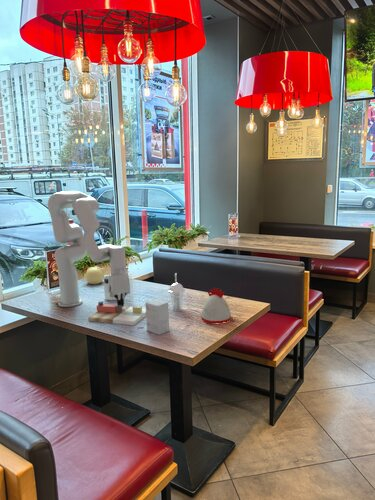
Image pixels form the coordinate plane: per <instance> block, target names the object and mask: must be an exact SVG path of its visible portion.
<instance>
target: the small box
mask: <svg viewBox="0 0 375 500" xmlns="http://www.w3.org/2000/svg"><path fill="white" fill-rule="evenodd" d="M145 308H146V316H145V317H146V320H145V321H146V331H147V332H151V333H153V334H155V335H159V336H160V335H162V334H165V333H166V332H167V333H168V332H169V331H170V317H169V316H170V315H169V302H168V301H164V300H160V299H157V298H155V299H151V300H149V301H146V302H145Z"/></svg>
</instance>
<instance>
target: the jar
mask: <svg viewBox="0 0 375 500" xmlns="http://www.w3.org/2000/svg"><path fill="white" fill-rule="evenodd" d="M108 281H109V275H107V276H104V279H103V287H104V288H103V289H104V300H105V301H106V300H107V301H115V300H116V301H117V299H116V298H115V297H110V293H109V291H108Z"/></svg>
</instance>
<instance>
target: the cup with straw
mask: <svg viewBox="0 0 375 500" xmlns="http://www.w3.org/2000/svg"><path fill="white" fill-rule="evenodd" d="M178 275H179V274H178V273H177V272H175V273H174V281H175V282H174V283H171V285H169V288H168V290H167V292H168V293H169V297H170V302H171V307H172V311H174V312H181V311H182V310H183V298H184V297H183V296H184V293H185V292H186V290H185V288H184V287H183V285H182V284H181V283H180V282H179V283H178V282H177V276H178Z"/></svg>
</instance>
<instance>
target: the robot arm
mask: <svg viewBox="0 0 375 500" xmlns="http://www.w3.org/2000/svg"><path fill="white" fill-rule="evenodd" d="M47 208H48V212H49V215H50V219H51V224H52V225H51V226H52V231H53V237H54V240H55V242H56V243H57V244H60V245H61V244H63V246H60V247H58V248H57V249H56V250H55V252H54V260H55V263H56V267H57V274H58V275H57V276H58V283H59V294H56V296H55V297H54V299H55V300H58V302H57V305H58V306H59V307H61V308H62V307H63V308H70V307H77V306H80V305H81V304H82V303H83V299H82V298H80V291H79V281H78V271H77V268H76V265H74V263H75V262H78V261H82V260H83V259H84V258H85V257H86V253H87V255H88V256H89V258H90V259H91V261H92V262H94V263H103V262H104V261H109V264H110V274H109V275H108V276H109V281H108V291H109V293H110V297H115V298H116V305H122V307H124V306H125V297H126V296H127V295H129V294H130V293H131V291H130V290H131V282H130V278H129V275H128V271H127V270H129V267H128V266H127V261H126V248H125V247H124V246H122V245H113V244H112V243H111V244H109V243H107V244H103V245H99V246H98V244H97V242H96V239H95V233H96V230H97V229H99V227H100V225H101V224H100V221H99V219H98V218H97V216H96V214H97V213H98V212H99V210H100V204H99V202H98V200H97V199H96V198H94V197H92V196H91V195H87V194H85V193H83V192H81V191H78V190H70V191H69V190H68V191H58V192H55V193H52V194H51V195H50V197H48V200H47ZM71 208H72V210H73V213H74V214H75V216H76V218H77V220H78V222H79V224H80V225H81V226H80V225H79V224H76V223H70V219H69V216H68V213H67V212H66V211H65V209H71ZM81 227H82V228H81ZM68 243H69V244H68ZM65 244H68V245H65Z"/></svg>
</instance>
